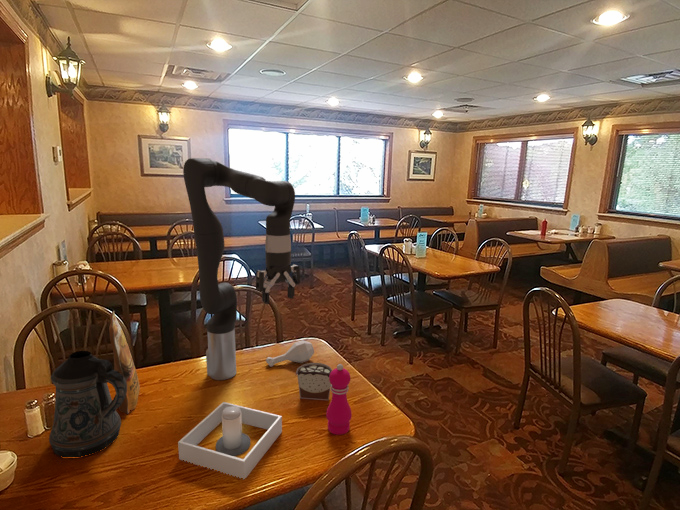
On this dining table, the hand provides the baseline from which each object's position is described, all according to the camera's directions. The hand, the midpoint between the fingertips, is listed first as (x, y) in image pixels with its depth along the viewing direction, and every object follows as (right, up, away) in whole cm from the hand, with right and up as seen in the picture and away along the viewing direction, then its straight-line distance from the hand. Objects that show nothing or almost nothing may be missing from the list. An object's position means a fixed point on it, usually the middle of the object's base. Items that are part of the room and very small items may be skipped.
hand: (278, 300), depth 125 cm
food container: (+11, -32, +10) cm, 35 cm away
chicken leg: (0, -27, +30) cm, 41 cm away
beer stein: (-48, -36, -14) cm, 62 cm away
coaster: (-10, -37, -15) cm, 41 cm away
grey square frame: (-10, -37, -15) cm, 41 cm away
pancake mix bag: (-48, -32, +4) cm, 58 cm away
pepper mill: (+18, -36, -7) cm, 41 cm away
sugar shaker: (-10, -36, -16) cm, 41 cm away
